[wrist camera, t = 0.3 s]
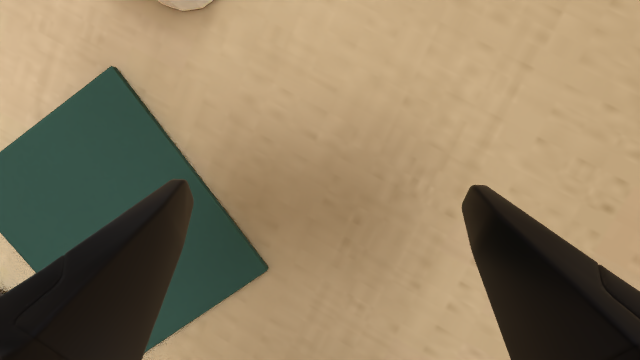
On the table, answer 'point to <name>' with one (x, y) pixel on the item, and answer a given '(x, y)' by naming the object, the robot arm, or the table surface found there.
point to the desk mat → (116, 195)
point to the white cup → (185, 4)
